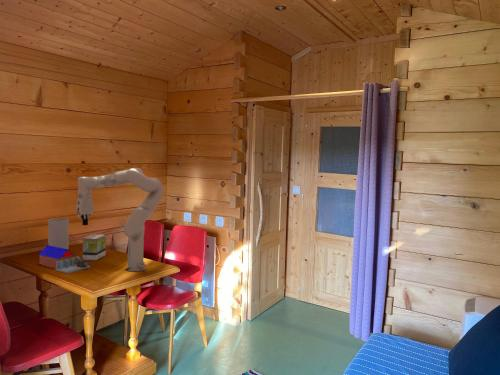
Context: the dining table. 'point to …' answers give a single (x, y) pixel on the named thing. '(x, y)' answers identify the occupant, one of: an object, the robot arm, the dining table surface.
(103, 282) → the dining table surface
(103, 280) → the dining table surface
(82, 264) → the cube on round rod
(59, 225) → the cylinder vase
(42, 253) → the house
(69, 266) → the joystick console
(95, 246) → the tea box
